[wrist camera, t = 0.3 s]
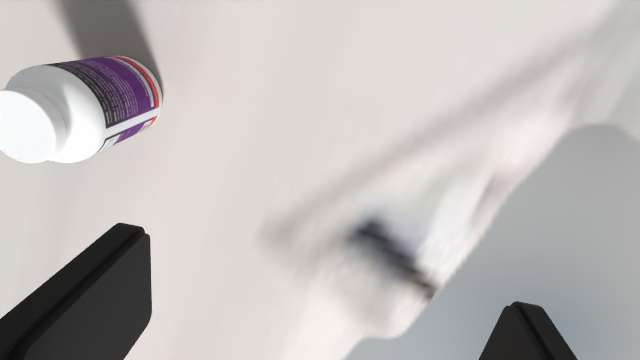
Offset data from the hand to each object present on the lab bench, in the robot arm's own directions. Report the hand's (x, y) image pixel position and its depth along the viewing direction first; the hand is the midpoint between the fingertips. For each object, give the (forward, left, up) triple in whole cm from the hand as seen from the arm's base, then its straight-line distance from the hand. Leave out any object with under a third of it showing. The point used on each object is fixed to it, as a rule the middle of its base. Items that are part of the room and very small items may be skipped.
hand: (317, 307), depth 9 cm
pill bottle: (+5, -23, -31) cm, 39 cm away
